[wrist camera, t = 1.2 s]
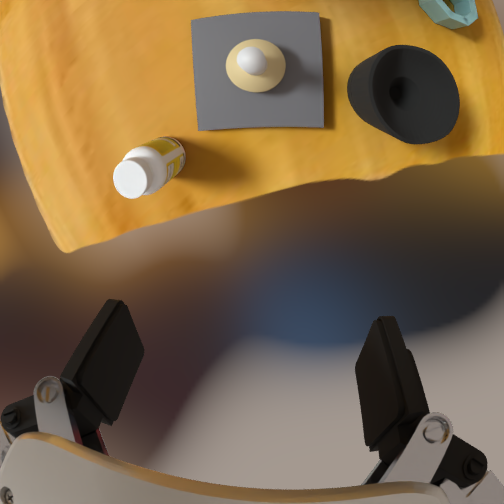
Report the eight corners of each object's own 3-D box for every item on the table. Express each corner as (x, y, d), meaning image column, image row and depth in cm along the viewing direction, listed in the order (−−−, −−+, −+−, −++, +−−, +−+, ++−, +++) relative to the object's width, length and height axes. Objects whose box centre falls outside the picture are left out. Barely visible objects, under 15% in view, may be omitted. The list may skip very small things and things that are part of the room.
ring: (413, -23, 15) (426, -32, 12) (456, -7, 15) (471, -12, 11) (421, 18, 19) (435, 12, 16) (463, 34, 18) (480, 31, 15)
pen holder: (393, 145, 29) (430, 165, 20) (328, 102, 28) (348, 104, 19) (426, 87, 24) (472, 90, 16) (364, 42, 23) (395, 23, 14)
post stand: (194, 23, 23) (170, 5, 17) (317, 16, 22) (327, -7, 15) (201, 129, 31) (179, 139, 24) (321, 126, 29) (334, 134, 22)
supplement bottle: (141, 145, 32) (99, 165, 24) (177, 129, 31) (140, 143, 22) (157, 182, 35) (120, 211, 26) (192, 168, 33) (163, 195, 25)
